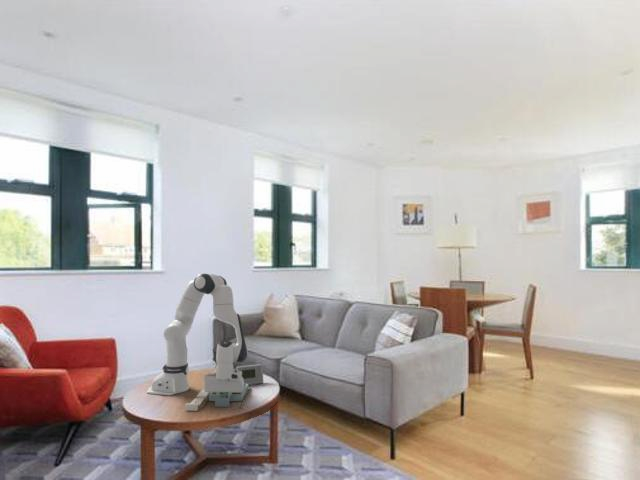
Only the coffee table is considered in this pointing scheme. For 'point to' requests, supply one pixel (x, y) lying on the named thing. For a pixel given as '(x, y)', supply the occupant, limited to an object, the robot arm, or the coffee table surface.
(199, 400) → the beige long bar
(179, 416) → the coffee table surface
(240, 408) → the guide rails
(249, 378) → the digital clock
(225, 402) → the pull frame
